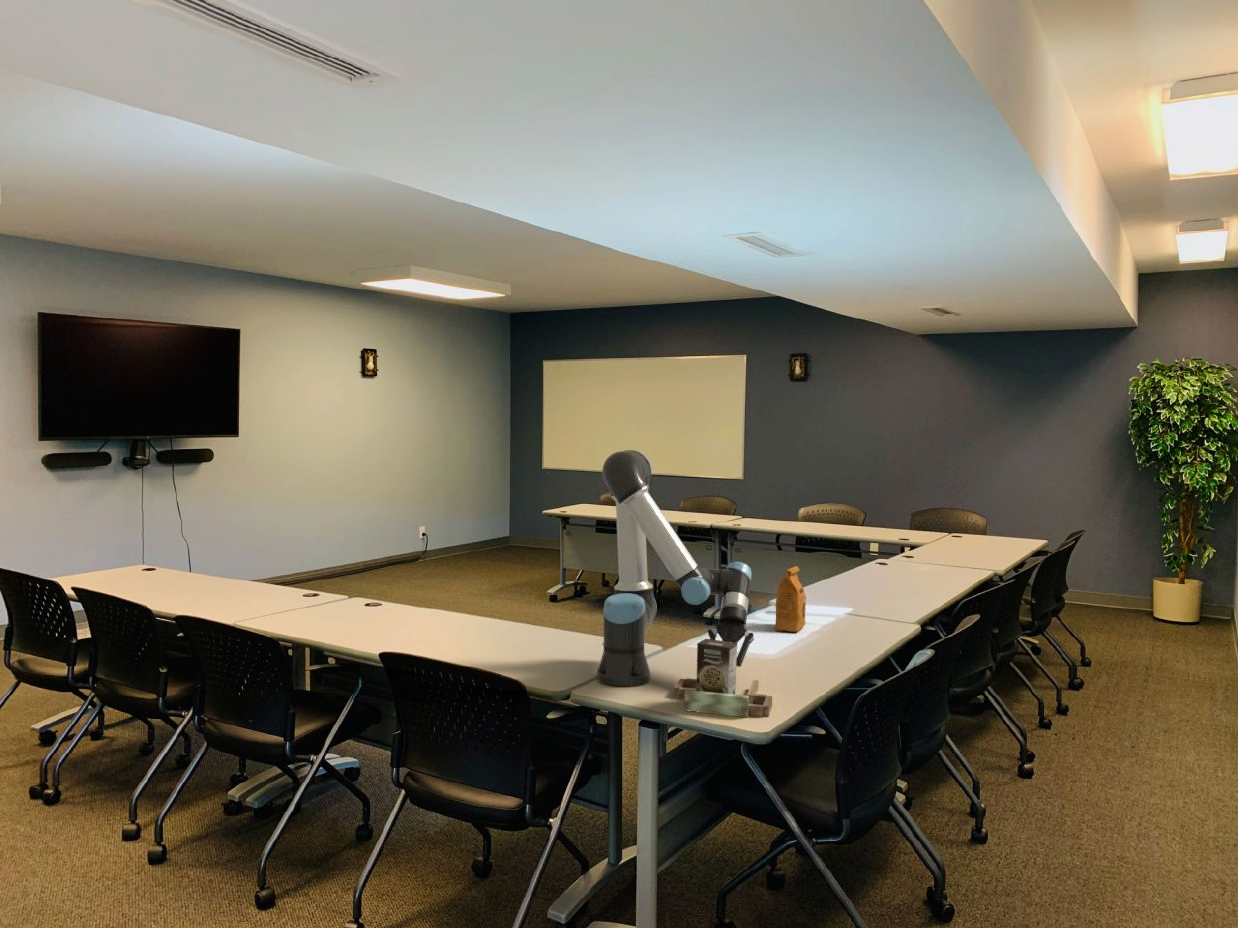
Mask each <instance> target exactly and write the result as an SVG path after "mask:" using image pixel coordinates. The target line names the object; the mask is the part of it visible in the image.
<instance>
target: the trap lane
mask: <svg viewBox="0 0 1238 928" xmlns="http://www.w3.org/2000/svg"><path fill="white" fill-rule="evenodd" d="M759 682H760V681H759V680H758V679H757V680H755V679H753V680H752V681H751V684H750V687H749V689H748V691H747V693H746V695H744V694H742V695H741V694H736V695H734V694H724V693H713V692H703V691H696V686H697V678H687V677H686V678H679V680H678V681H677V682H676V684H675V686H673V697H674V696H678V697H677V698H678V699H682V698H685V699H684V711H685V710H690V711H699V712H704V713H703V714H709V713H717V714H716V715H719V714H724V715H723V716H728V717H729V716H731V717H738V716H739V718H749V716H751V717H759V718H762V717H768V718H769V717H770V714H771V711H772V708H773V696H771V695H767V694H760V693H758V692H759V687H760V685H759V684H760V683H759ZM690 711H689V712H690ZM699 712H698V713H699Z"/></svg>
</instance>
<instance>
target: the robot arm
mask: <svg viewBox="0 0 1238 928" xmlns="http://www.w3.org/2000/svg"><path fill="white" fill-rule="evenodd" d="M601 473H602V474H601V475H602V479H603V481H604V483H605V485H606V486H607V489H609V491H610V497H611V498H612V500H613V501H615V512H616V516H615V517H616V536H617V537H616V539H617V540H616V541H617V559H618V560H617V561H618V562H617V563H618V565H617V566H618V582H617V584H615V586H614V594H612V595H610V596H608V597H607V598H606V599H605V600H604V605H603V613H602V614H603V650H602V651H603V653H602V655H601V659H600V661H599V665H598V667H597V672H596V673H597V674H596V679H597V681H598V682H600V683H601V684H604V685H608V686H612V685H614V686H615V687H632V686H631V685H637V686H641V685H640V684H642V685H644V683H645V684H647V683H649V682H648V681H649V680H651V671H650V667H649V663H648V660H647V657H646V653H645V631H646V629H647V628H648V627H649V626H650V625H651V624H652V623H653V622H654V620H655V618H656V615H657V611H658V609H657V608H658V607H657V602H656V599H655V597H654V585H653V584H652V583H651V582H649V579H648V560H647V559H648V557H647V555H648V553H647V540H648V541H649V544H651V546H652V548H653V549H654V551H655V552H656V554H657V555H658V557H659V558H660V559H661V561H662V562H663V564H664V565H665V568H667V570H668V571H669V573H670V574H671V575H672V576H671V577H673V579H674V581H676V583H677V586H679V588H680V591H681V592H680V593H681V597H682V598H683V600H684V601H685V602H686V603H687V604H690V605H692V606H693V605H696V606H697V605H701V604H702V603H704V602H705V601H707V599H709V597H710V595H712V596H713V595H715V596H722V597H721V604H720V612H719V619H718V624H717V625H716V627H715V628H714V629H708V630H707V633H708V639H712V640H716V638H717V634H718V635H719V637H720V639H721V641H726V642H733V643H737V644H738V642H739V641H741V640H742V639H743V638H744V639H743V642H742V645H741V646H740V649H739V651H738V653H737V662H736V667H739V668H741V666H742V664H743V662H744V659H745V657H746V654H747V652H748V649H749V647H750V645H751V643H753V642H754V640H755V638H754V632H749V631H748V630H747V627H746V626H747V616H748V615H747V614H748V609H749V602H750V601H749V599H750V593H751V586H752V585H751V584H752V569H751V567H750V566H749V565H748V564H746V563H744V562H741V561H734V562H730V563H728V564H727V566H726V569H718V568H709V567H699V566H698V564H697V563H696V560H695V559H694V558H693V556H692V555H691V554H690V551H688V549H687V547H686V546H685V545H684V543H683V541H682V540H681V538H680V537H679V535H678V534H677V533H676V531H675V530H674V528H673V527H672V525H671V523H669V521H668V519H667V518H666V517H665V515H664V513H663V512H662V511H661V509H660V507H659V506H658V505H657V503H656V501H655V500H654V499H653V497H652V496H651V494H650V479H651V476H652V465H651V462H650V460H649V459H648V457H647V456H646V455H645V454H644V453H642V452H640V451H637V450H632V449H628V450H627V449H626V450H623V451H622V450H621V451H616V452H614V453H611V455H609V456H608V457H607V458H606V459H605V461H604V463H603V465H602V470H601ZM646 682H647V683H646Z"/></svg>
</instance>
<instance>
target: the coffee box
mask: <svg viewBox="0 0 1238 928" xmlns="http://www.w3.org/2000/svg"><path fill="white" fill-rule="evenodd" d="M696 648H697V649H696V679H697V686H696V691H703V692H713V693H724V694H734V695H737V694H736V693H737V691H736V690H737V666H736V662H737V656H738V643H733V642H726V641H722V640H719V639H715V640H712V639H710V638H704V639H702V640H701V641H699V642H697V647H696Z"/></svg>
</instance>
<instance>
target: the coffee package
mask: <svg viewBox="0 0 1238 928" xmlns="http://www.w3.org/2000/svg"><path fill="white" fill-rule="evenodd" d="M798 572H800V568H799V566H797V565H796V566H794V567H791V568H788V569H787V570H786V572H785V574H784V575H783V577H782V579H781V580H780V582H779V584H778V585H777V586H778V587H777V590H776V597H775V598H776V599H775V631H777V632H794V633H795V632H799V631H800V630H802V629H803V628H804V627H805V625H806V606H807V605H806V604H807V603H806V601H807V599H806V593H805V589H804V587H803V585H802V584H801V582H800V581H799V577H798V574H797V573H798Z"/></svg>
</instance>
